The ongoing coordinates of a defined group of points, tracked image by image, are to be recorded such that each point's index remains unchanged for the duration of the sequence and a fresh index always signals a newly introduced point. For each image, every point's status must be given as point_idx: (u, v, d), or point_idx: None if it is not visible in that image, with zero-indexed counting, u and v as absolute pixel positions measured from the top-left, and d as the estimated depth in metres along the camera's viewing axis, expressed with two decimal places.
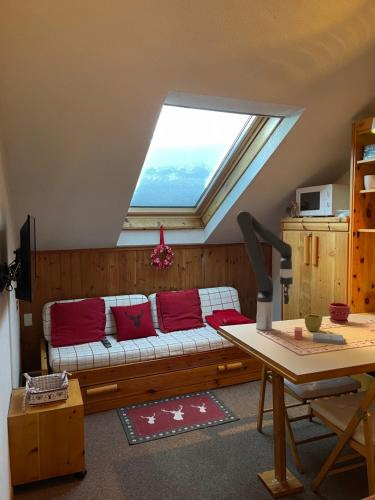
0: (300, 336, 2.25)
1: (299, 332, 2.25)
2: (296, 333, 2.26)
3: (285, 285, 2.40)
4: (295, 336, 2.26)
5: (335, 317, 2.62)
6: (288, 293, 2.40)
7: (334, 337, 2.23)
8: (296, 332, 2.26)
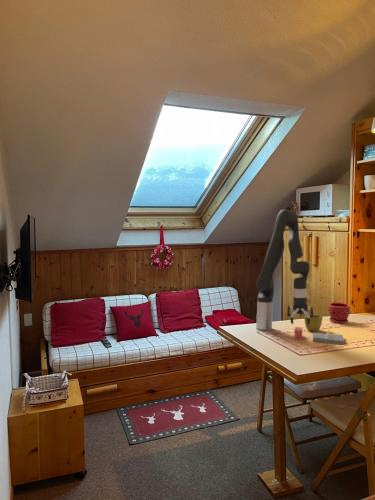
0: (300, 336, 2.25)
1: (299, 332, 2.25)
2: (296, 333, 2.26)
3: (306, 305, 2.27)
4: (295, 336, 2.26)
5: (335, 317, 2.62)
6: (307, 313, 2.29)
7: (334, 337, 2.23)
8: (296, 332, 2.26)
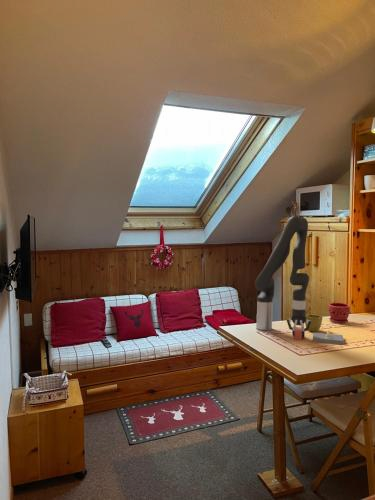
0: (300, 336, 2.25)
1: (299, 332, 2.25)
2: (296, 333, 2.26)
3: (305, 317, 2.27)
4: (295, 336, 2.26)
5: (335, 317, 2.62)
6: (303, 326, 2.30)
7: (334, 337, 2.23)
8: (296, 332, 2.26)
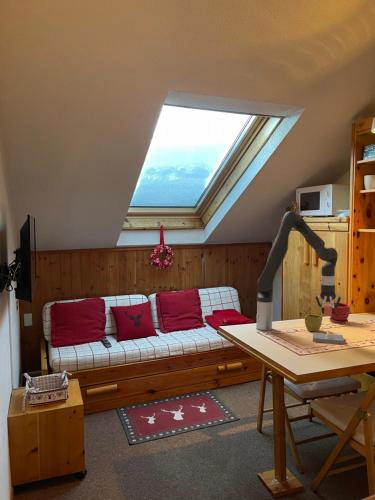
0: (330, 312, 2.19)
1: (329, 308, 2.19)
2: (326, 309, 2.20)
3: None
4: (325, 313, 2.20)
5: (335, 317, 2.62)
6: None
7: (334, 337, 2.23)
8: (326, 308, 2.20)
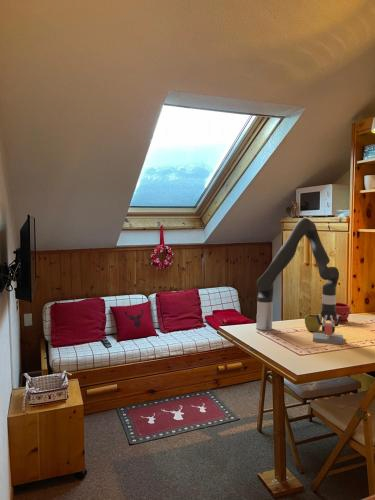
0: (330, 331, 2.20)
1: (329, 327, 2.20)
2: (326, 328, 2.21)
3: (335, 312, 2.22)
4: (325, 331, 2.21)
5: (335, 317, 2.62)
6: (333, 321, 2.24)
7: (334, 337, 2.23)
8: (326, 327, 2.21)
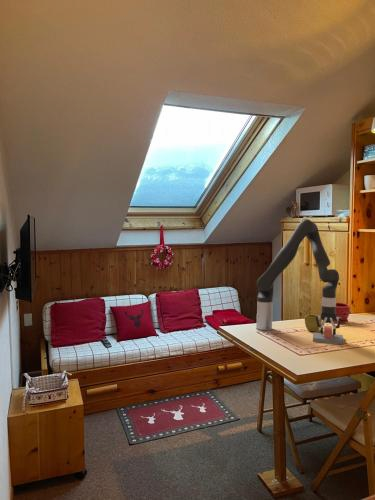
0: (330, 335, 2.20)
1: (329, 331, 2.20)
2: (326, 332, 2.21)
3: (335, 314, 2.22)
4: (325, 335, 2.21)
5: None
6: None
7: (334, 337, 2.23)
8: (326, 331, 2.21)
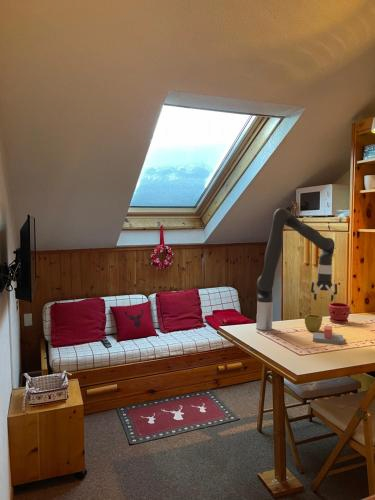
0: (330, 335, 2.20)
1: (329, 331, 2.20)
2: (326, 332, 2.21)
3: (331, 282, 2.27)
4: (325, 335, 2.21)
5: (335, 317, 2.62)
6: (331, 290, 2.28)
7: (334, 337, 2.23)
8: (326, 331, 2.21)
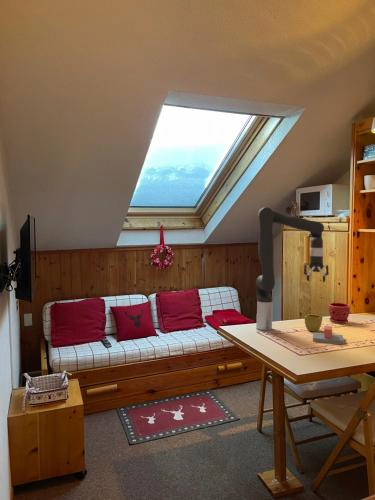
0: (330, 335, 2.20)
1: (329, 331, 2.20)
2: (326, 332, 2.21)
3: (322, 263, 2.41)
4: (325, 335, 2.21)
5: (335, 317, 2.62)
6: None
7: (334, 337, 2.23)
8: (326, 331, 2.21)
